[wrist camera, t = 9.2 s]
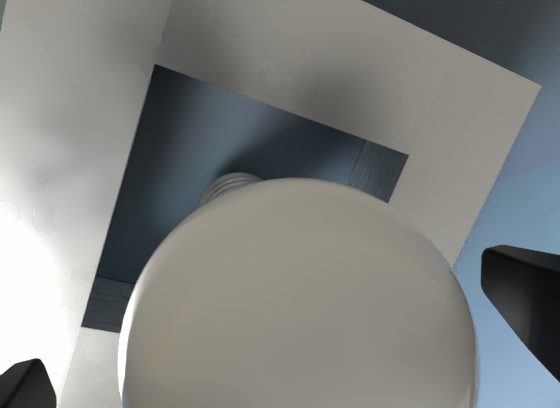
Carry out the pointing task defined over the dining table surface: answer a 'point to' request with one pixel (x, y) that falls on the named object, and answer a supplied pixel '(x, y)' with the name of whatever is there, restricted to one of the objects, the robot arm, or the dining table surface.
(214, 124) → the dining table surface
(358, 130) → the socket
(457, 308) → the lightbulb
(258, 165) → the dining table surface
